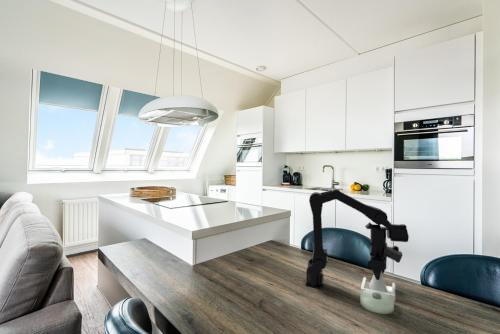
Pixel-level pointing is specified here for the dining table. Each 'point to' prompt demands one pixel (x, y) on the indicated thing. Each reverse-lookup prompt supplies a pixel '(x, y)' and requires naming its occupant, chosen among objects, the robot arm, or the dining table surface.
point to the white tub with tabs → (377, 298)
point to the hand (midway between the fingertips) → (377, 278)
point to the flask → (378, 284)
